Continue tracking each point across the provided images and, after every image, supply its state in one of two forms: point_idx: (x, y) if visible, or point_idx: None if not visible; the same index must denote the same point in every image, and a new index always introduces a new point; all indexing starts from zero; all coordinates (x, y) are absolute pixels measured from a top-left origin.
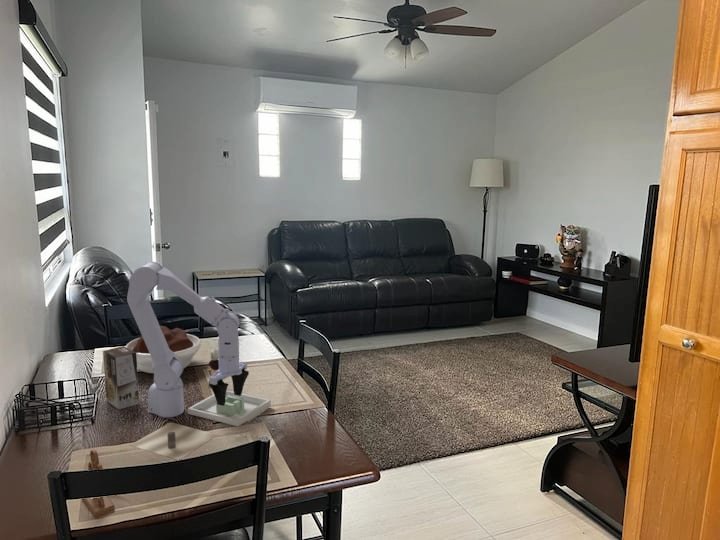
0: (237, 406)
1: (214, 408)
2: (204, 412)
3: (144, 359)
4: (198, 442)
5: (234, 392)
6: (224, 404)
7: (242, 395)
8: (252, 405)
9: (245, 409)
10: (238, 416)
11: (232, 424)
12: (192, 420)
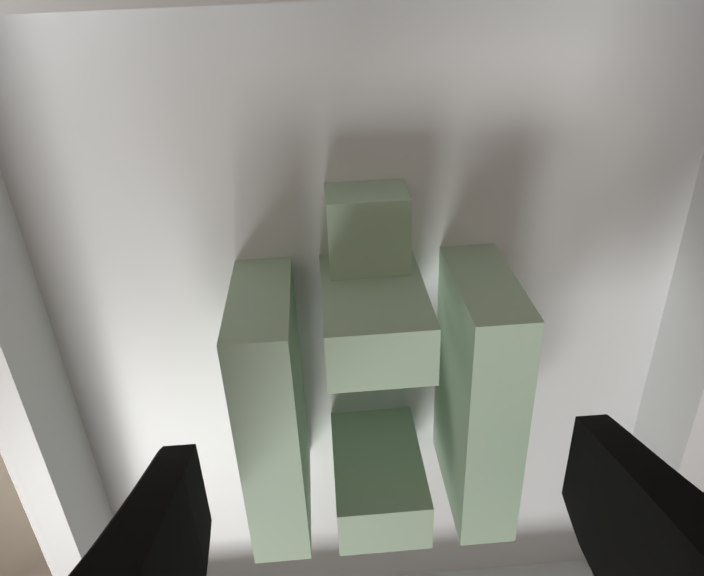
0: (395, 296)
1: None
2: (700, 485)
3: None
4: None
5: (206, 549)
6: (584, 419)
7: (52, 467)
8: (86, 234)
9: (241, 234)
10: (464, 174)
11: None
12: None
